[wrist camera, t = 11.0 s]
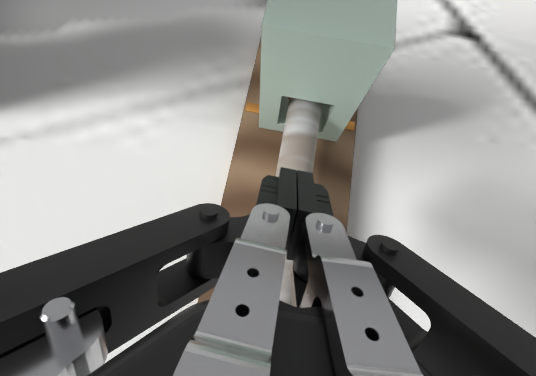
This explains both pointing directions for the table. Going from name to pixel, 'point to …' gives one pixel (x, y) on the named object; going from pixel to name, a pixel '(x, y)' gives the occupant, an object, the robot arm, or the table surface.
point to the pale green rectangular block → (322, 57)
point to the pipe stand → (287, 160)
